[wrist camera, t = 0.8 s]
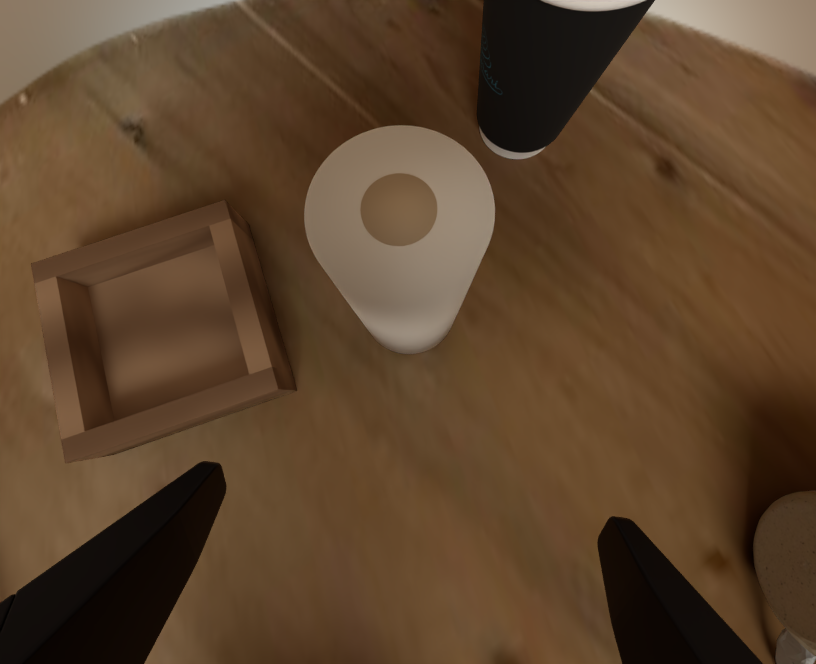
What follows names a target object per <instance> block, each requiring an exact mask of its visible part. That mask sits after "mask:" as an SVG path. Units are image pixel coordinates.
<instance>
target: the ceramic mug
mask: <svg viewBox="0 0 816 664" xmlns="http://www.w3.org/2000/svg"><path fill="white" fill-rule="evenodd" d="M753 554H754V566H755V570H756V574H757V577H758V581H759V584H760V587H761V589H762V591H763V593H764V595H765V597H766V600H767V602H768V604H769V606H770V607H771V609H772V610H773V612H774V614H775V615H776V617H777V618H778V619H779V620H780V622H781V623H782V624H783V625H784V627H785V629H784V630H782V632H781V634H780V635H779V637H778V639H777V648H776V655H775V660H776V664H813V663H814V661H815V659H816V491H802V492H795V493H791V494H788V495H785V496H783V497H781V498H779V499H778V500H776V501H774V502H773V503H772V504H771V505H770V506H769V507H768V509H767V510H766V511H765V512H764V513H763V515H762V516H761V518H760V520H759V522H758V525H757V529H756V532H755V536H754V542H753Z"/></svg>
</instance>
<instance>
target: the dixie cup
mask: <svg viewBox="0 0 816 664" xmlns="http://www.w3.org/2000/svg"><path fill="white" fill-rule="evenodd" d="M654 1H655V0H484V6H483V22H482V38H481V54H480V70H479V86H478V102H477V119H478V123H479V128H480V134H481V137H482V139H483V141H484V143H485V144H486V145H487V146H488V148H490V149H491V150H492V151H493V152H495V153H496V154H498V155H500V156H502V157H505V158H509V159H525V158H529V157H532V156H534V155H536V154H538V153H539V152H541V151H542V150H543V149H544V148H545V147H546V146H547V145H549V144H550V143H551V142H552V141H554V140H555V139H556V137H557V136H558V135H559V133H560V132H561V131H562V129H563V128H564V126H565V125H566V124H567V122H568V121H569V119H570V118H571V117H572V115H573V114H574V112H575V111H576V110H577V108H578V107H579V106H580V104H581V103H582V101H583V100H584V99H585V97H586V96H587V94H588V93H589V92H590V90H591V89H592V87H593V86H594V85H595V83H596V82H597V80H598V79H599V78H600V76H601V75H602V73H603V72H604V71H605V69H606V68H607V66H608V65H609V64H610V62H611V61H612V59H613V58H614V57H615V55H616V54H617V52H618V51H619V50H620V48H621V47H622V45H623V44H624V43H625V41H626V40H627V39H628V37H629V36H630V34H631V33H632V32H633V30H634V29H635V27H636V26H637V25H638V23H639V22H640V20H641V19H642V18H643V16H644V15H645V13H646V12H647V11H648V9H649V8H650V6H651V5H652V4H653V2H654Z"/></svg>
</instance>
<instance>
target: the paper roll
mask: <svg viewBox="0 0 816 664" xmlns="http://www.w3.org/2000/svg"><path fill="white" fill-rule="evenodd" d="M494 222H495V204H494V196H493V193H492V189H491V185H490V183H489V181H488V178H487V176H486V174H485V172H484V171H483V169H482V167H481V165H480V164H479V163H478V162H477V160H476V159H475V158H474V157H473V155H471V154H470V153H469V152H468V151H467V150H466V149H465V148H464V147H463V146H461V145H460V144H459V143H457V142H456V141H454V140H453V139H451V138H449V137H447V136H446V135H443V134H441V133H439V132H436V131H434V130H430V129H426V128H423V127H416V126H406V125H396V126H386V127H381V128H376V129H373V130H369V131H366V132H364V133H361V134H359V135H357V136H355V137H353V138H351V139H350V140H348V141H346V142H345V143H343V144H342V145H341V146H339V147H338V148H337V149H335V150H334V151H333V152H332V153H331V154H330V155H329V156H328V157H327V158H326V159H325V161H324V162H323V163H322V165H321V166H320V167H319V169H318V170H317V172H316V174H315V176H314V177H313V179H312V182H311V184H310V187H309V189H308V193H307V197H306V201H305V209H304V223H305V229H306V235H307V238H308V242H309V245H310V247H311V249H312V251H313V253H314V256H315V257H316V259H317V260H318V262H319V263H320V265H321V266H322V268H323V269H324V271H325V272H326V273H327V275H328V276H329V277H330V279H331V280H332V282H333V283H334V284H335V286H336V287H337V288H338V290H339V291H340V292H341V294H342V295H343V297H344V298H345V299H346V301H347V302H348V303H349V305H350V306H351V308H352V309H353V310H354V312H355V313H356V314H357V316H358V317H359V319H360V320H361V321H362V323H363V324H364V325H365V327H366V328H367V330H368V331H369V332H370V334H371V335H372V336H373V338H374V339H375V340H376V341H377V342H378V343H379V344H381V345H382V346H383V347H385V348H387V349H389V350H391V351H393V352H396V353H401V354H417V353H422V352H425V351H427V350H429V349H431V348H433V347H435V346H436V345H438V344H439V343H440V342H441V341H442V340H443V339H444V338H445V337H446V336H447V334H448V332H449V331H450V329H451V327H452V325H453V322H454V320H455V318H456V316H457V314H458V311H459V309H460V307H461V305H462V302H463V300H464V298H465V296H466V294H467V291H468V289H469V287H470V285H471V282H472V280H473V278H474V276H475V274H476V271H477V269H478V267H479V265H480V263H481V260H482V258H483V256H484V254H485V251H486V249H487V247H488V245H489V242H490V239H491V236H492V233H493V228H494Z"/></svg>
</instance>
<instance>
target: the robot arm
mask: <svg viewBox="0 0 816 664" xmlns="http://www.w3.org/2000/svg"><path fill="white" fill-rule="evenodd" d="M225 493H226V481H225V478H224V474H223V470H222V466H221V465H220V464H219V463H216V462H208V461H203V462H200V463H198V464H197V465H195V466H194V467H193V468H191V469H190V470H188V471H187V472H186V473H184V474H183V475H181V476H180V477H178V478H177V479H176V480H174V481H173V482H171V483H170V484H168V485H167V486H166V487H164V488H163V489H161V490H160V491H159V492H157V493H156V494H154V495H153V496H151V497H150V498H149V499H147V500H146V501H144V502H143V503H142V504H140V505H139V506H137V507H136V508H134V509H133V510H132V511H130V512H129V513H127V514H126V515H125V516H123V517H122V518H120V519H119V520H117V521H116V522H115V523H113V524H112V525H110V526H109V527H107V528H106V529H105V530H103V531H102V532H100V533H99V534H98V535H96V536H95V537H93V538H92V539H90V540H89V541H88V542H86V543H85V544H83V545H82V546H81V547H79V548H78V549H76V550H75V551H73V552H72V553H71V554H69V555H68V556H66V557H65V558H64V559H62V560H61V561H59V562H58V563H56V564H55V565H54V566H52V567H51V568H49V569H48V570H46V571H45V572H44V573H42V574H41V575H39V576H38V577H37V578H35V579H34V580H32V581H31V582H29V583H28V584H27V585H25V586H24V587H22V588H21V589H20V590H18V591H17V593H16V595H15V594H13V595H11V596H9V597H8V598H7V599H5V600H4V601H2V602H1V603H0V664H144V663H145V661H146V659H147V657H148V655H149V653H150V651H151V649H152V648H153V646H154V644H155V642H156V640H157V638H158V636H159V634H160V632H161V630H162V629H163V627H164V625H165V623H166V621H167V619H168V617H169V615H170V613H171V611H172V610H173V608H174V606H175V604H176V602H177V600H178V598H179V596H180V594H181V593H182V591H183V589H184V587H185V585H186V583H187V581H188V579H189V577H190V575H191V574H192V572H193V570H194V568H195V566H196V564H197V561H198V559H199V557H200V555H201V552H202V550H203V548H204V545H205V543H206V540H207V538H208V535H209V533H210V531H211V528H212V526H213V523H214V521H215V518H216V516H217V513H218V511H219V509H220V506H221V504H222V501H223V499H224V496H225ZM598 552H599V557H600V563H601V569H602V574H603V580H604V586H605V591H606V597H607V603H608V608H609V613H610V618H611V623H612V627H613V631H614V635H615V639H616V642H617V646H618V650H619V653H620V657H621V661H622V664H763V663H762V662H761V661H760V660H759V659H758V658H757V656H756V655H755V654H754V653H753V652H752V651H751V650H750V649H749V648H748V647H747V646H746V644H745V643H744V642H743V641H742V640H741V639H740V638H739V637H738V636H737V635H736V633H735V632H734V631H733V630H732V629H731V628H730V627H729V626H728V625H727V624H726V622H725V621H724V620H723V619H722V618H721V617H720V616H719V615H718V614H717V613H716V612H715V610H714V609H713V608H712V607H711V606H710V605H709V604H708V603H707V602H706V601H705V599H704V598H703V597H702V596H701V595H700V594H699V593H698V592H697V591H696V590H695V588H694V587H693V586H692V585H691V584H690V583H689V582H688V581H687V580H686V579H685V578H684V576H683V575H682V574H681V573H680V572H679V571H678V570H677V569H676V568H675V567H674V565H673V564H672V563H671V562H670V561H669V560H668V559H667V558H666V557H665V556H664V554H663V553H662V552H661V551H660V550H659V549H658V548H657V547H656V546H655V545H654V544H653V542H652V541H651V540H650V539H649V538H648V537H647V536H646V535H645V534H644V533H643V531H642V530H641V529H640V528H639V527H638V526H637V525H636V524H635V523H634V522H633V521H632V520H630V519H628V518H622V517H615V516H612V517H610V518H609V519H608V521H607V522H606V524H605V526H604V528H603V530H602V531H601V533H600V535H599V537H598Z"/></svg>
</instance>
